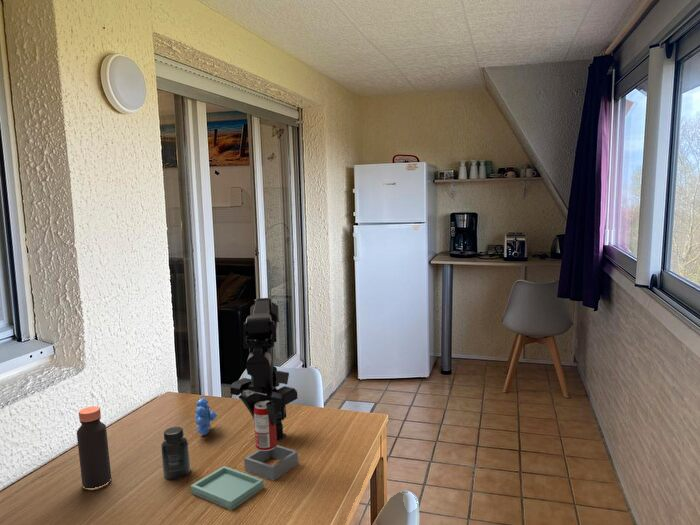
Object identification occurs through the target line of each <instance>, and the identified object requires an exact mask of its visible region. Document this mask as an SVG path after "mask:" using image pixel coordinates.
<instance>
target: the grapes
mask: <svg viewBox="0 0 700 525" xmlns="http://www.w3.org/2000/svg"><path fill="white" fill-rule="evenodd" d="M195 405H196V407H197V408H196V409H195V411H194V413H195V416H194V418H195V419H196V420H195V421H194V422H195V424H196V425H197V426H198V427H197V428H196V431H197V432H198V433H199V434H200V435H201V436H203V435H205V436H207V434H208V433H209V432H210V429H209V428H210V427H211V421H215V419H216V418H217V416H218V414H217V413H216V412H215V411H213V410H210V409H211V408H210V407H211V406H210V405H209V400H207V399H206V398H205V397H201V398H200V399H198V400H197V401H196V404H195Z"/></svg>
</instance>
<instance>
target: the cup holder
mask: <svg viewBox="0 0 700 525" xmlns="http://www.w3.org/2000/svg"><path fill="white" fill-rule="evenodd" d="M270 458H274V459H276V460H279V461H277V462H276V463H275V464H272V465H271V464H269V463H266V461H267V460H268V459H270ZM243 459H244V471H245V472H247V473H250V474H252V475H255V476H258V477H261V478H265V479H267V480H271V481H273V482H274V481H275V480H277V479H278V478H280V477H282V476H283V475H284V474H286V473H287V472H289V471H290V470H292V468H294V467H296V466H297V465H299V452H298V451H297V450H294V449H292V448H288V447H286V446H285V447H284V446H281V445H279V444H277V446H276V447H275V448H274V449H272V450H270V451H260V450H258V449H257V450H256V451H254V452H252V453H250V454H249V455H248V456H247V455H246V457H244V458H243ZM266 459H267V460H266Z"/></svg>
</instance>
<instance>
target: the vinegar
mask: <svg viewBox="0 0 700 525" xmlns="http://www.w3.org/2000/svg"><path fill="white" fill-rule="evenodd" d="M78 417H79V418H78V419H79V423H80V426H79V427H78V429H77V431H76V440H77V448H78V457H79V467H80V476H81V484H82V485H83V486H84V487H85V488H95V487H99V486H102V485H104V484H106V483H107V482H109V481H110V479H111V480H112V471H111V462H110V452H109V441H108V432H107V431H108V430H107V426H106V424H105V423H103V422H102V421H101V419H102V418H101V417H102V413H101V408H100V406H96V405H95V406H87V407H84V408H82V409H80V410H79V411H78ZM82 485H81V486H82ZM83 486H82V487H83Z"/></svg>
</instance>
